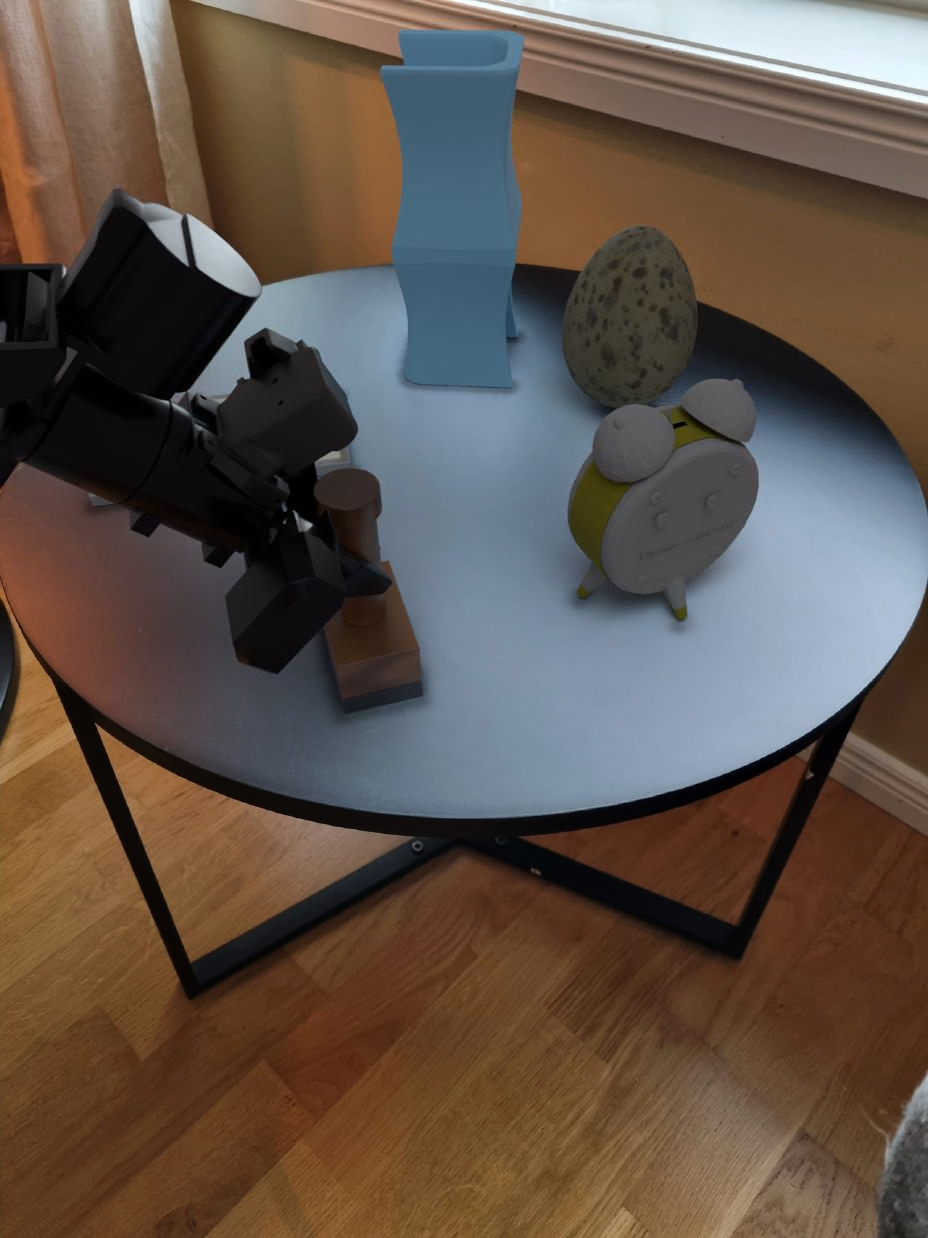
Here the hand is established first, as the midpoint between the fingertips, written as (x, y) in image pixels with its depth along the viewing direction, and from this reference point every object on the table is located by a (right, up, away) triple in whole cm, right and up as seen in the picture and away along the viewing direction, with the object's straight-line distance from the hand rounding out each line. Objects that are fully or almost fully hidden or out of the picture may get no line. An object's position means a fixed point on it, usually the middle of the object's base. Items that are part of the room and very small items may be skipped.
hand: (381, 569), depth 54 cm
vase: (+5, +21, +31) cm, 38 cm away
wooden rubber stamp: (-1, -6, +5) cm, 8 cm away
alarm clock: (+18, -1, +9) cm, 20 cm away
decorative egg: (+18, +16, +25) cm, 35 cm away
